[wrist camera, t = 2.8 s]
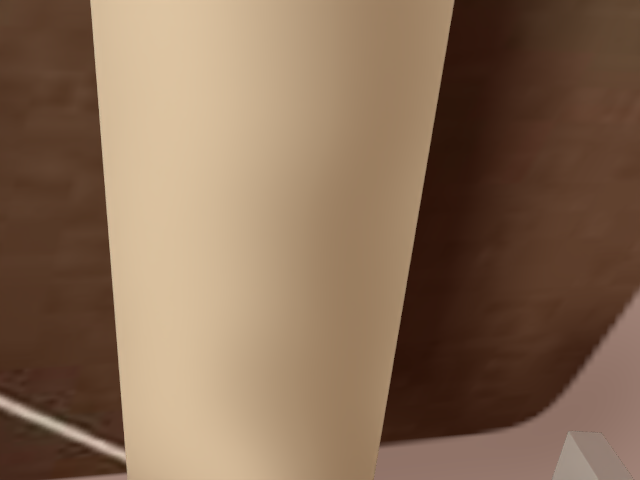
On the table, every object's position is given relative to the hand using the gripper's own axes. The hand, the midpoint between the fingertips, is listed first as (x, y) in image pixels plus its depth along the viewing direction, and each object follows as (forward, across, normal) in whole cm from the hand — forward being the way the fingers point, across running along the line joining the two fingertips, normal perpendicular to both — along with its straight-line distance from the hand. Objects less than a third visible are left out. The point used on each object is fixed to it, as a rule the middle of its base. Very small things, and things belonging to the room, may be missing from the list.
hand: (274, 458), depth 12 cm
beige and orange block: (+9, -1, +8) cm, 12 cm away
